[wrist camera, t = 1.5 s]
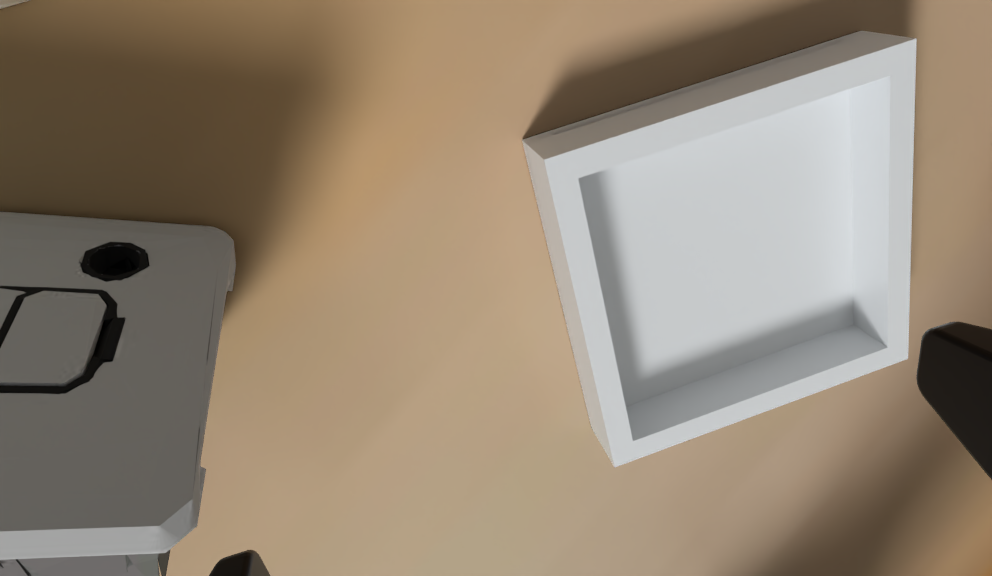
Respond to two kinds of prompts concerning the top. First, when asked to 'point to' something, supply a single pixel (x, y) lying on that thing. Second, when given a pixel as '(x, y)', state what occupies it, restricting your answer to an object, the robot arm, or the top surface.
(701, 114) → the tray
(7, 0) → the label plate
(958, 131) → the top surface
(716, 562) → the top surface
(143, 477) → the electrical switch
